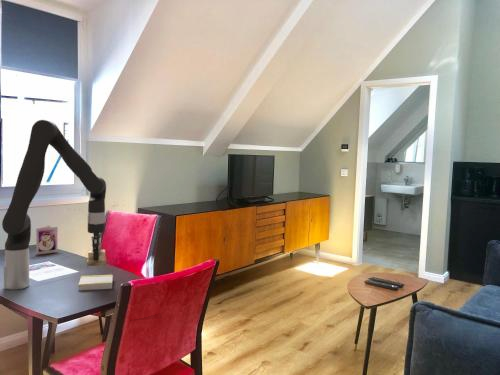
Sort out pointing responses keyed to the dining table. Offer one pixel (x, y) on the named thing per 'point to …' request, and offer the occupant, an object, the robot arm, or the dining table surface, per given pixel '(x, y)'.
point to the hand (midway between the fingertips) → (96, 258)
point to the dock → (95, 282)
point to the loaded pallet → (98, 262)
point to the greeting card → (46, 240)
